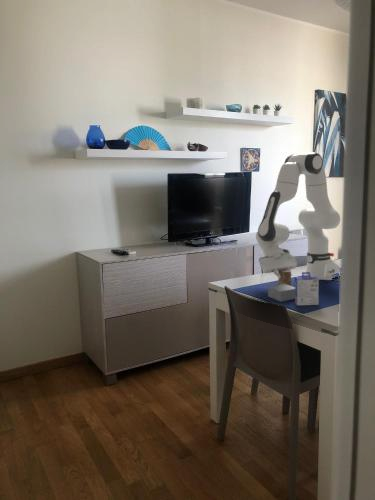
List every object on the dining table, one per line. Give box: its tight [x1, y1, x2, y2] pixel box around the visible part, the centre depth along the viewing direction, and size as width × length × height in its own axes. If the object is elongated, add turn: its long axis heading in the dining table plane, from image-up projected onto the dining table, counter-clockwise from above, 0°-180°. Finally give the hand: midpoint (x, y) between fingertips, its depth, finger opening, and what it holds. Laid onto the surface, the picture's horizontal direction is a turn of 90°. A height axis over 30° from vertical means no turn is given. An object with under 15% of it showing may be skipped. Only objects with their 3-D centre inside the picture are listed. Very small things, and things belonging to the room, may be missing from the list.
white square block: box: [267, 284, 295, 303], centre depth 199 cm, size 10×10×5 cm
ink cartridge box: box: [294, 271, 320, 306], centre depth 187 cm, size 10×6×14 cm, turn 89°
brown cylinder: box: [277, 270, 292, 286], centre depth 211 cm, size 4×4×10 cm
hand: (285, 277), depth 210 cm, fingers closed on brown cylinder, 4 cm apart
